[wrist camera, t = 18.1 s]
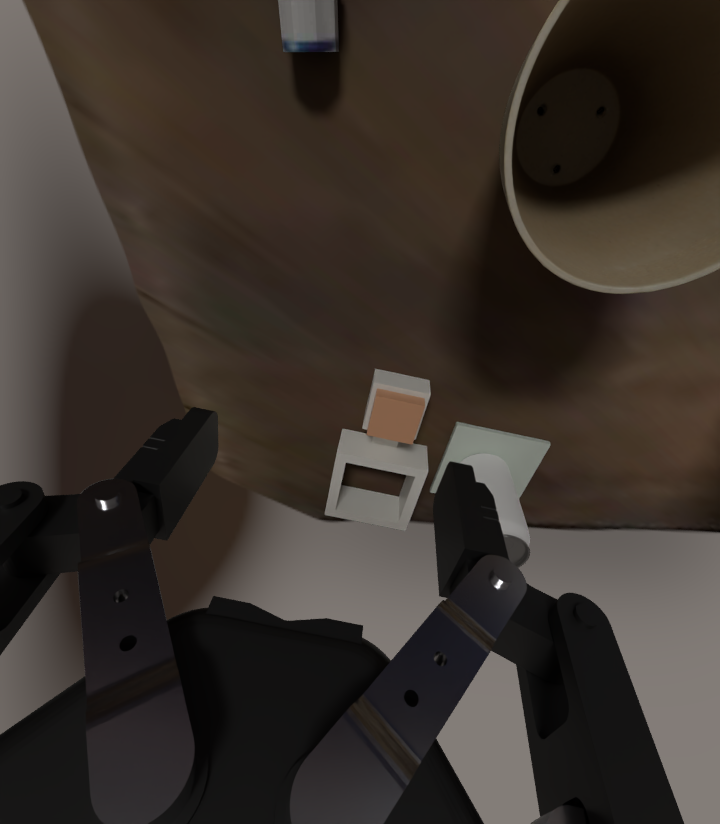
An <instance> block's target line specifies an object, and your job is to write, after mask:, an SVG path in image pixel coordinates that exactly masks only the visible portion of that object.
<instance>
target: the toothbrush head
mask: <svg viewBox="0 0 720 824" xmlns="http://www.w3.org/2000/svg"><path fill="white" fill-rule="evenodd" d="M278 3H279V13H280V23H281V34H282V44H283V52H339V41H338V6H337V0H278Z"/></svg>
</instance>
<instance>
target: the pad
mask: <svg viewBox="0 0 720 824" xmlns="http://www.w3.org/2000/svg"><path fill="white" fill-rule="evenodd" d="M550 445H551V444H550V442H549V441H545V440H541V439H536V438H531V437H527V436H522V435H517V434H512V433H508V432H503V431H498V430H493V429H489V428H484V427H479V426H474V425H470V424H465V423H460V422H456V425H455V427H454V430H453V432H452V435H451V437H450V440H449V442H448V445H447V447H446V450H445V452H444V455H443V457H442V460H441V462H440V465H439V467H438V470H437V472H436V475H435V477H434V480H433V482H432V485H431V487H430V492H431V493H436V491H437V489H438V486H439V484H440V481H441V479H442V476H443V474H444V472H445V469H446V467H447V465H448V463H449V462H450V461H452V462H457V463H460V462H461V461H462V460H463V459H465V458H466V457H468V456H470V455H473V454H478V453H487V454H492V455H496V456H498V457H500V458H502V459H503V460H504V461H505V462H506V464H507V465H508V468H509V470H510V474H511V477H512V480H513V483H514V486H515V489H516V492H517V495H518V498H520V496H521V495H522V493H523V491H524V489H525V488H526V486H527V484H528V483H529V481H530V479H531V478H532V476H533V474H534V472H535V471H536V469H537V467H538V466H539V464H540V462H541V461H542V459H543V457H544V455H545V454H546V452H547V450H548V449H549V447H550Z"/></svg>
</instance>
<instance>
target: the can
mask: <svg viewBox="0 0 720 824" xmlns="http://www.w3.org/2000/svg"><path fill="white" fill-rule="evenodd" d="M460 463H462V464H467V465H471V466H472V467H473V470H474V475H475V479H476V482H480V483H484V484H485V485H486V486H487V488H488V489H489V490H490V492H491V493H492V495H493V496H494V500H495V504H496V508H497V509H496V511H497V512H498V516H499V522H500V525H501V529H502V533H503V537H504V541H505V545H506V549H507V553H508V557H509V560H510V561H511V562H512V563H513V564H514V565H516V566H517V567H520V566H522V565H523V564H524V563H525V562H526V561H527V560H528V558H529V556H530V549H529V544H530V535H529V531H528V527H527V524H526V521H525V518H524V514H523V511H522V508H521V505H520V502H519V498H518V495H517V492H516V489H515V486H514V483H513V480H512V477H511V474H510V470H509V468H508V465H507V464H506V462H505V461H504V460H503V459H502V458H500V457H498V456H496V455H492V454H487V453H478V454H473V455H470V456H468V457H466V458H465V459H463V460H462V461H461V462H460Z"/></svg>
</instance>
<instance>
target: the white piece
mask: <svg viewBox="0 0 720 824" xmlns="http://www.w3.org/2000/svg"><path fill="white" fill-rule="evenodd" d="M377 388H378V389H383V390H388V391H392V392H397V393H402V394H406V395H411V396H416V397H421V398H425V408H424V411H423V414H422V417H421V420H420V423H419V426H418V429H417V432H416V435H415V438H414V439H415V440H416V437H417V434H418V431H419V428H420V425H421V422H422V419H423V416H424V413H425V410H426V407H427V404H428V401H429V398H430V395H431V392H430V381H429V380H426V379H421V378H417V377H412V376H407V375H403V374H398V373H393V372H389V371H384V370H379V369H375V372H374V376H373V380H372V385H371V389H370V393H369V398H368V402H367V406H366V410H365V415H364V421H363V428H362V429H367V427H368V423H369V419H370V415H371V411H372V407H373V403H374V398H375V394H376V390H377ZM346 463H351V464H356V465H361V466H365V467H370V468H375V469H380V470H385V471H389V472H394V473H399V474H404V475H406V478H405V481H404V484H403V487H402V490H401V493H400V496H399V497H397V496H393V495H388V494H383V493H378V492H373V491H368V490H363V489H359V488H354V487H349V486H344V485H341V482H342V478H343V473H344V469H345V464H346ZM427 474H428V457H427V446H423V445H419V444H414V443H413V444H407V443H402V442H397V441H392V440H388V439H383V438H378V437H373V436H368V435H366V433H361V432H357V431H352V430H347V429H342V433H341V437H340V441H339V446H338V450H337V455H336V460H335V465H334V470H333V475H332V480H331V485H330V490H329V495H328V500H327V505H326V510H325V515H328V516H333V517H338V518H343V519H348V520H353V521H358V522H363V523H367V524H372V525H377V526H382V527H387V528H392V529H397V530H402V531H406V529H407V526H408V523H409V521H410V518H411V516H412V513H413V510H414V508H415V505H416V503H417V500H418V497H419V495H420V492H421V489H422V487H423V484H424V482H425V479H426V476H427Z"/></svg>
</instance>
